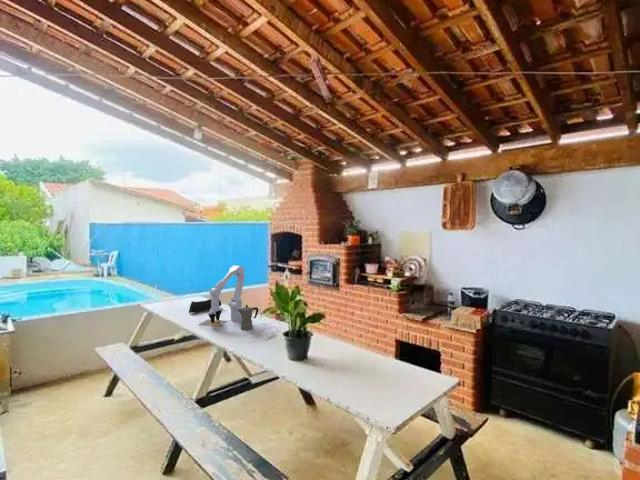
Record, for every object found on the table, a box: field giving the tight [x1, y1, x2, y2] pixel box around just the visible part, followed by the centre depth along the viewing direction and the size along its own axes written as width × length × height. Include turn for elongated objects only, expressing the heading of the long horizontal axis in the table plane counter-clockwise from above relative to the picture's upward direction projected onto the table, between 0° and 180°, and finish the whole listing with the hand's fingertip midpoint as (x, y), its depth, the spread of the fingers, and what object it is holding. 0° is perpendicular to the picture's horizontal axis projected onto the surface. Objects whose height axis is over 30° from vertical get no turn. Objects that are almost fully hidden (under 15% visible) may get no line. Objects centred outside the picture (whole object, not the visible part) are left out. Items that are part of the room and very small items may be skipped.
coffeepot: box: [238, 304, 259, 331], centre depth 270 cm, size 15×9×18 cm, turn 111°
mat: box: [198, 319, 229, 328], centre depth 282 cm, size 18×16×1 cm
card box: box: [210, 319, 221, 326], centre depth 278 cm, size 4×7×3 cm, turn 81°
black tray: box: [188, 298, 222, 314], centre depth 319 cm, size 17×3×30 cm
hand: (215, 321), depth 278 cm, fingers open, 7 cm apart
